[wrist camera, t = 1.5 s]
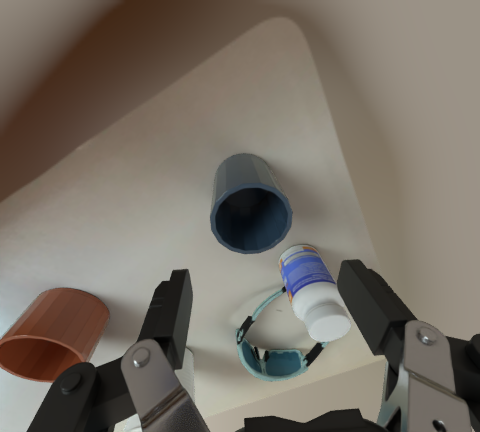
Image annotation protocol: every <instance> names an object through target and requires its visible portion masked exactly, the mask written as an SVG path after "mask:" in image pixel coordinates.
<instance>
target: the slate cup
mask: <svg viewBox="0 0 480 432" xmlns="http://www.w3.org/2000/svg"><path fill="white" fill-rule="evenodd" d="M292 214H293V212H292V209H291V206H290V204H289V201H288V199H287V197H286V195H285V193H284V192H283V190H282V188H281V187H280V185H279V183H278V181H277V180H276V178H275V176H274V174H273V173H272V171H271V169H270V167H269V166H268V165H267V164H266V163H265V162H264V161H263V160H262V159H261V158H259V157H257V156H255V155H252V154H244V153H243V154H237V155H233V156H231V157H229V158H227V159H226V160H225V161H224V162H223V163H222V164H221V165H220V166H219V168H218V170H217V172H216V175H215V179H214V185H213V195H212V204H211V213H210V221H211V230H212V232H213V234H214V235H215V237H216V239H217V240H218V242H219V243H220V244H222V245H223V246H225V247H226V248H228V249H229V250H231V251H234V252H238V253H242V254H255V253H261V252H264V251H266V250H269V249H271V248H273V247H275V246H276V245H277V244H278V243H280V242H281V241H282V240H283V239H284V238H285V236H286V235H287V233H288V231H289V229H290V228H291V224H292Z"/></svg>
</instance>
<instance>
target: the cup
mask: <svg viewBox="0 0 480 432" xmlns="http://www.w3.org/2000/svg"><path fill="white" fill-rule="evenodd" d="M175 374H176V376H177V378H178V379H179V381H180V383H181V385H182V386H183V388H185V389H186V390H187V392H188V393H189V395H190V397H191V398H192V400H193V402H194V404H195V389H194V388H195V387H194V362H193V354H192V353H191V351H190V350H189V349H187V348H185V354H184V360H183V367H182V369H180V370H175ZM123 432H142V429H141V423H140V419H139V416H138V414H135V415H133V416H131V417H129V418H128V420H127V423H126V425H125V427H124V430H123Z"/></svg>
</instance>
